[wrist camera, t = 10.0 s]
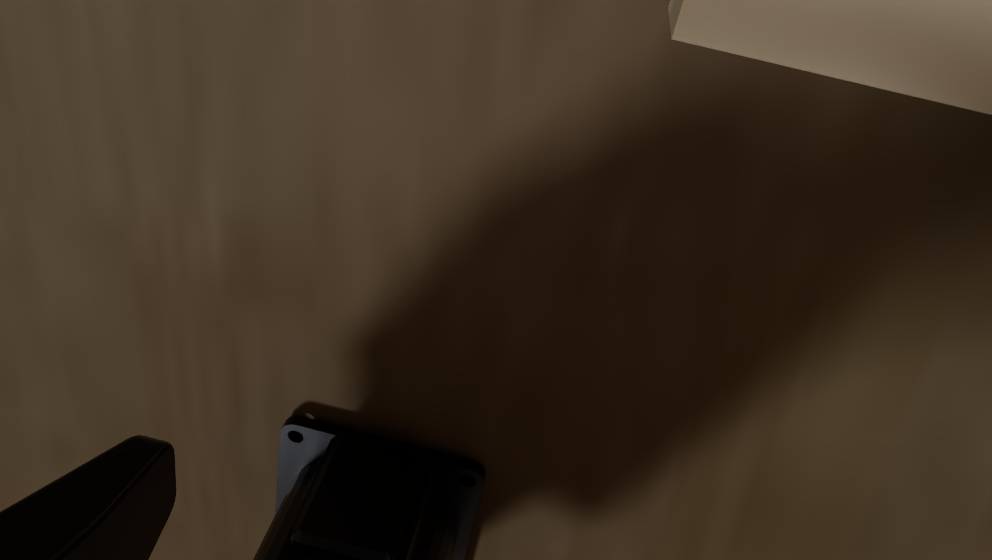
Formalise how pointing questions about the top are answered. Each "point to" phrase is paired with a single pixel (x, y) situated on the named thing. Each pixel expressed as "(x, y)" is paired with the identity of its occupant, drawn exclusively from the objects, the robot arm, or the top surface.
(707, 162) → the top surface
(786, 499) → the top surface
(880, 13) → the stand
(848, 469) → the top surface
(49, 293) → the top surface
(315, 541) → the robot arm
